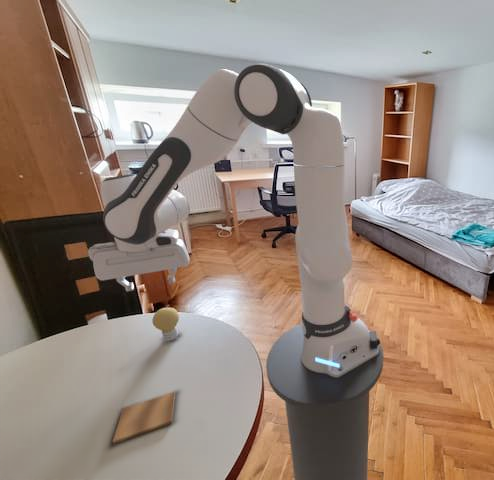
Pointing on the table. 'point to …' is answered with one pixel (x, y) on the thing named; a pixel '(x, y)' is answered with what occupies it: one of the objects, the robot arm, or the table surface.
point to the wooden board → (145, 417)
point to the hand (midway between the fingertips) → (151, 286)
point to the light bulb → (166, 322)
